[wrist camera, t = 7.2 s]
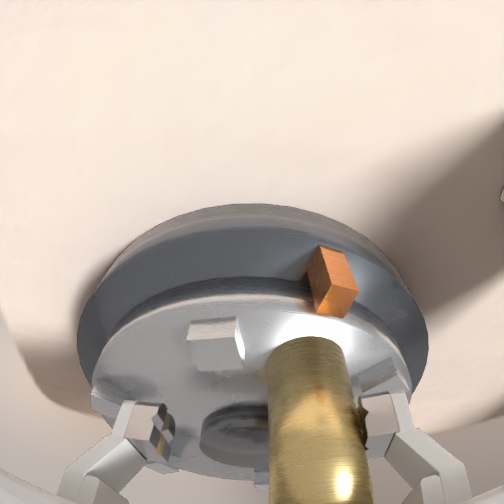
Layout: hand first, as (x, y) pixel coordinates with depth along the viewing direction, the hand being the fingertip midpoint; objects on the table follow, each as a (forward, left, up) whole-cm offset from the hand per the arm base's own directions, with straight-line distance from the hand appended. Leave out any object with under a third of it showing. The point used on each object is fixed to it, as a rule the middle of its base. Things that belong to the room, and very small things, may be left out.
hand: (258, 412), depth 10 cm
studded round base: (-1, +6, -4) cm, 7 cm away
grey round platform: (-1, +6, -8) cm, 9 cm away
